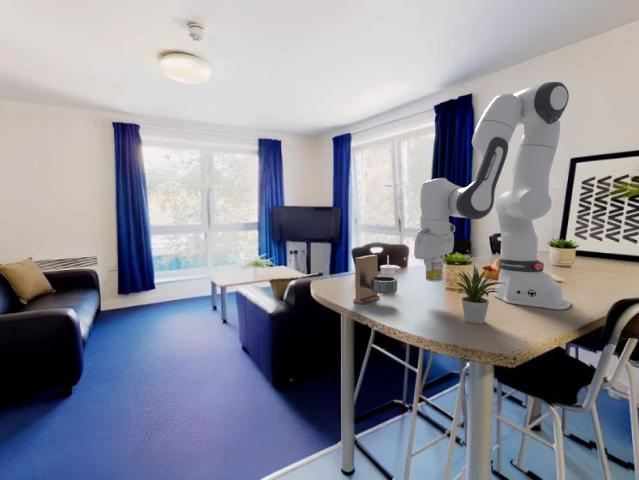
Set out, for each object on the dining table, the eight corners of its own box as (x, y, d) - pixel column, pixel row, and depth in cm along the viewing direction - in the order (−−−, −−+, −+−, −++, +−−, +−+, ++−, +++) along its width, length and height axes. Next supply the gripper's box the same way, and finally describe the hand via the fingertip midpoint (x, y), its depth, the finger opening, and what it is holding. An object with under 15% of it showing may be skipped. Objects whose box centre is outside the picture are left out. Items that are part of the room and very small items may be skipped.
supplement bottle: (430, 277, 111) (430, 250, 110) (445, 279, 107) (445, 251, 106) (423, 280, 107) (422, 252, 107) (438, 282, 104) (438, 253, 103)
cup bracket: (403, 304, 110) (403, 258, 108) (385, 310, 103) (386, 261, 101) (371, 296, 120) (371, 254, 118) (353, 302, 113) (353, 257, 111)
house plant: (475, 334, 82) (477, 272, 81) (436, 318, 95) (437, 264, 94) (512, 325, 88) (515, 267, 87) (471, 311, 101) (472, 260, 99)
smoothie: (395, 287, 132) (395, 254, 131) (397, 291, 126) (397, 256, 125) (379, 287, 133) (379, 254, 132) (380, 291, 127) (380, 256, 125)
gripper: (427, 230, 96) (427, 275, 98) (457, 226, 110) (457, 265, 111) (408, 229, 101) (409, 273, 102) (439, 226, 115) (440, 264, 116)
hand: (434, 269), depth 107 cm, fingers closed on supplement bottle, 5 cm apart
